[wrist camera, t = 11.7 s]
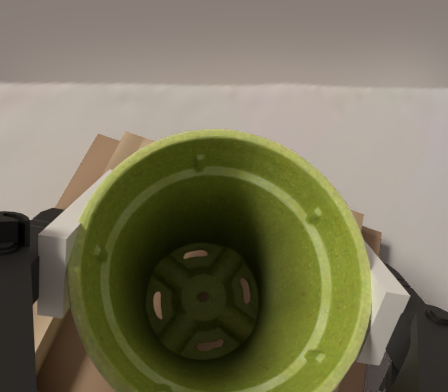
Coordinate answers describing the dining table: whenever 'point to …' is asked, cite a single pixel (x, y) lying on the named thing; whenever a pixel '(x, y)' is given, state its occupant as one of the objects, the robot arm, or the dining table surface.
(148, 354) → the plant pot
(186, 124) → the dining table surface
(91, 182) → the walnut pot stand
